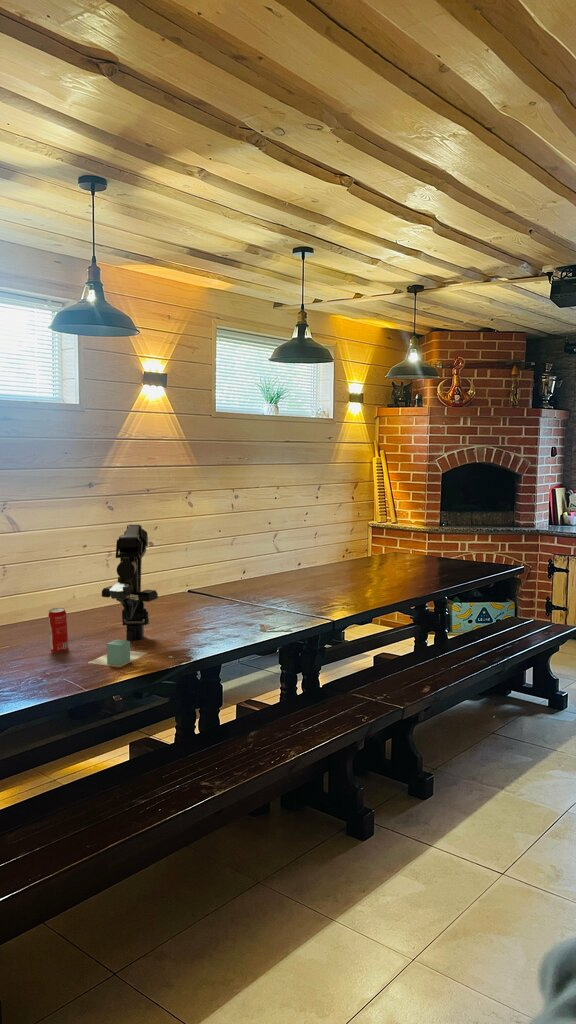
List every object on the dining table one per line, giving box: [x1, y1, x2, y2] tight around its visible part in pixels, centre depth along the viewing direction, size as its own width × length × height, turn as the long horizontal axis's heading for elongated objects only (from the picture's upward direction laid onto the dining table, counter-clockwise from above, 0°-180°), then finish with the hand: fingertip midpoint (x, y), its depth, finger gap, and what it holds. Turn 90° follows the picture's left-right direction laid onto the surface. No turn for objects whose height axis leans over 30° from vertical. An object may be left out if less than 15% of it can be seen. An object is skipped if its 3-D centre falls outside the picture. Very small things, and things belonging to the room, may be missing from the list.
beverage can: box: [47, 607, 69, 654], centre depth 242 cm, size 6×6×15 cm
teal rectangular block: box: [106, 639, 131, 667], centre depth 229 cm, size 5×5×7 cm
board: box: [87, 650, 148, 668], centre depth 234 cm, size 16×12×1 cm
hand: (129, 618), depth 239 cm, fingers closed
